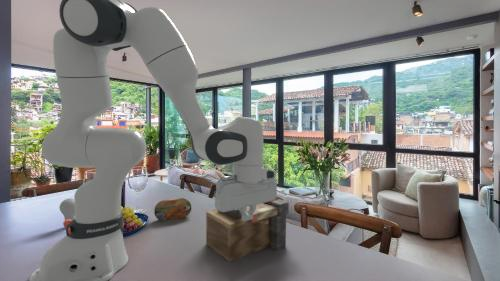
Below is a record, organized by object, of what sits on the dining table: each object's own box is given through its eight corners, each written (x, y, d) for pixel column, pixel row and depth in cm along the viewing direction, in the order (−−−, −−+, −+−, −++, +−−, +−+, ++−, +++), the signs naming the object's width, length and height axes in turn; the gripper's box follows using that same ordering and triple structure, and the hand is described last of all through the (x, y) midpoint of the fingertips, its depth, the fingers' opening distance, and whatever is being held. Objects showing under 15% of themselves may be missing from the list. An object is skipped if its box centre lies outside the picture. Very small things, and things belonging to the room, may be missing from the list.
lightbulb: (81, 226, 98) (80, 198, 97) (62, 231, 94) (61, 202, 93) (77, 222, 102) (76, 195, 101) (58, 226, 98) (57, 198, 97)
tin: (154, 222, 103) (154, 202, 102) (154, 219, 106) (153, 200, 105) (191, 217, 109) (191, 198, 108) (190, 214, 112) (190, 196, 111)
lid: (237, 237, 70) (237, 218, 70) (206, 218, 84) (206, 202, 84) (287, 220, 83) (287, 204, 82) (252, 206, 97) (252, 192, 96)
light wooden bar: (253, 222, 74) (253, 214, 74) (246, 219, 76) (246, 211, 76) (288, 211, 84) (289, 204, 83) (282, 209, 86) (282, 202, 86)
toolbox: (238, 268, 70) (239, 215, 69) (206, 243, 85) (206, 199, 84) (287, 247, 83) (288, 202, 82) (252, 228, 97) (252, 190, 96)
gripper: (222, 180, 64) (222, 233, 65) (280, 171, 76) (279, 216, 77) (210, 175, 69) (210, 225, 70) (266, 168, 81) (266, 210, 82)
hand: (247, 220), depth 74 cm, fingers closed
